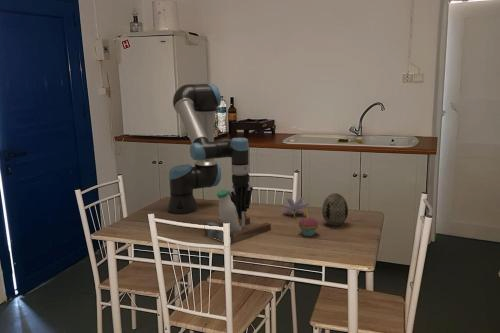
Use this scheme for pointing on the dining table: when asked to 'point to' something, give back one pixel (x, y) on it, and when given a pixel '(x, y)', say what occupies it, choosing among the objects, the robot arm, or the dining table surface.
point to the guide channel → (239, 235)
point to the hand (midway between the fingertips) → (241, 225)
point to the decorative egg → (335, 209)
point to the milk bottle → (228, 211)
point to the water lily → (294, 206)
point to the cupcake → (308, 225)
